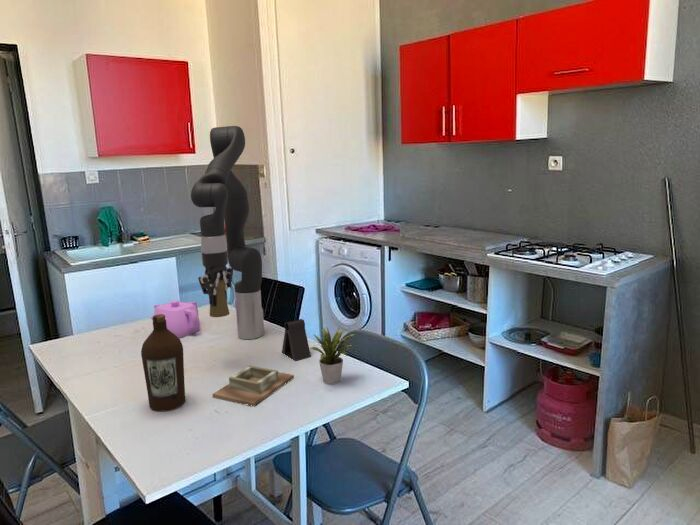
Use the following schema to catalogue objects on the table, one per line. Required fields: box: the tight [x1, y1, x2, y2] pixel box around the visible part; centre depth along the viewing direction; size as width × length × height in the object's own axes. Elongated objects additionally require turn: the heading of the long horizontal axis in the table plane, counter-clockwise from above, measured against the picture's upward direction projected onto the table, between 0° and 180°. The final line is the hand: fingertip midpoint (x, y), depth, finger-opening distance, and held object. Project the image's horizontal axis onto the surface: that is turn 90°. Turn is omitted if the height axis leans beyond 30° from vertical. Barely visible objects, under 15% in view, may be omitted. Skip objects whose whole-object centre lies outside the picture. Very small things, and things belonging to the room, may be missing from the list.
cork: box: [209, 280, 230, 318], centre depth 165 cm, size 6×6×11 cm
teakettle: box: [150, 299, 201, 339], centre depth 204 cm, size 17×17×12 cm
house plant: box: [309, 326, 356, 385], centre depth 156 cm, size 14×14×16 cm
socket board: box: [212, 365, 295, 407], centre depth 155 cm, size 20×14×4 cm
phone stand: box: [281, 318, 312, 362], centre depth 178 cm, size 9×6×12 cm, turn 36°
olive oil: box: [140, 314, 186, 412], centre depth 144 cm, size 11×11×25 cm
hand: (218, 304), depth 166 cm, fingers closed on cork, 4 cm apart
